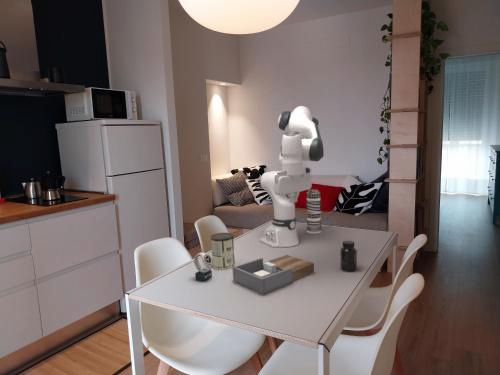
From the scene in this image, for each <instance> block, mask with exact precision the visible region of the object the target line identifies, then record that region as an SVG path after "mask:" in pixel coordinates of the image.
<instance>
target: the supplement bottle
mask: <svg viewBox="0 0 500 375" xmlns="http://www.w3.org/2000/svg"><path fill="white" fill-rule="evenodd" d="M339 253H340V254H339V256H340V258H339V259H340V260H339V261H340V262H339V263H340V265H339V266H340V270H341V271H344V272H346V273H350V272H351V273H352V272H355V271H357V268H358V250H357V249H356V248H355V241H353V240H343V241H342V247H341V248H340V252H339Z"/></svg>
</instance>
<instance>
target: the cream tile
mask: <svg viewBox="0 0 500 375" xmlns="http://www.w3.org/2000/svg"><path fill="white" fill-rule="evenodd" d="M253 274H254V275H256V276H259V277H261V278H264V277H266V276H269V275H271V274H270V273H269V272H266V271H264V270H261V271H258V272H255V273H253Z"/></svg>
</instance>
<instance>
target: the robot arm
mask: <svg viewBox="0 0 500 375" xmlns="http://www.w3.org/2000/svg"><path fill="white" fill-rule="evenodd" d="M278 116H279V117H278V118H277V119H278V120H277V125H278V128H279V129H280V130H282V131H284V133H282V139H281V140H282V141H281V145H280V152H279V155H278V163H279V165H280V166H281V167H282V169H281V170H271V171H267V172H264V173H262V175H261V177H260V187H261V188H262V190H264V191H265V192H266V193H267V194H268V195H269V197H270V199H271V201H272V205H273V216H274V217H272V218H271V220H270V221H272V223H271V224H270V225H269V226H268V227H266V228H265V229H264V232H263V236H262V237H261V238H260V239H259V242H261V243H264V244H265V245H268V246H270V247H272V248H279V247H280V248H290V247H295V246H298V245H299V243H300V242H299V237H298V232H297V217H296V204H295V203H297V202H298V197H299V194H300V192H304V191H307V190H308V191H309V190H312V189H311V188H312V184H313V182H312V180H313V179H312V174H311V173H312V168H311V167H309V166H307V165H306V166H305V165H304V162H307V161H308V162H310V161H311V162H319V161H321V160H322V159H323V158H324V155H325V152H326V151H325V149H326V148H325V144H324V141H323V140H322V139H323V138H322V137H321V133H320V132H321V131H320V129H319V127H320V126H319V125H320V124H319V120H318V119H317V118H315V117H314V116H313V117H312V114H311V111H310V108H308V107H307V106H303V105H299V106H297V107H295V108H294V109H293V110H292V111H289V110H288V111H287V110H286V111H285V110H284V111H282V112H281V114H279V115H278ZM286 194H287V195H286Z"/></svg>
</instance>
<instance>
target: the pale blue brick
mask: <svg viewBox="0 0 500 375" xmlns="http://www.w3.org/2000/svg"><path fill="white" fill-rule="evenodd" d="M265 262H266V263H264V262H263V265H264V271H266V272H269V273H270V274H271V275H272V274H274V273H276V265H275V264H273V263H270V262H267V261H265Z"/></svg>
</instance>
